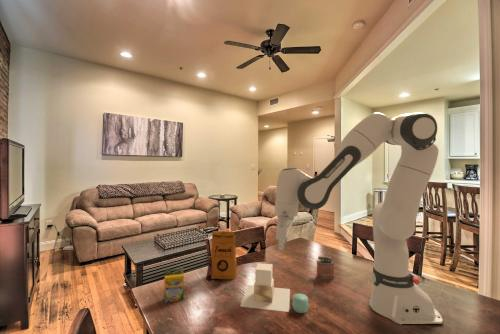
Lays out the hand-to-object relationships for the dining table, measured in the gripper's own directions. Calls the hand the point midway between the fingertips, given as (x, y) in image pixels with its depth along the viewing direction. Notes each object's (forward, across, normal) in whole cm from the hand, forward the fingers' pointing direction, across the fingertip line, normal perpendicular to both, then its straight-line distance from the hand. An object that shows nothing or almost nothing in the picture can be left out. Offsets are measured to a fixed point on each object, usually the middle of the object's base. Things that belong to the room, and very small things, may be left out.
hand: (282, 245), depth 92 cm
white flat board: (+23, +2, +5) cm, 23 cm away
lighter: (+20, +28, -18) cm, 39 cm away
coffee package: (+25, +15, +28) cm, 40 cm away
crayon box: (+26, -8, +40) cm, 48 cm away
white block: (+16, +2, +6) cm, 17 cm away
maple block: (+22, +2, +6) cm, 23 cm away
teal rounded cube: (+22, -2, -9) cm, 24 cm away
